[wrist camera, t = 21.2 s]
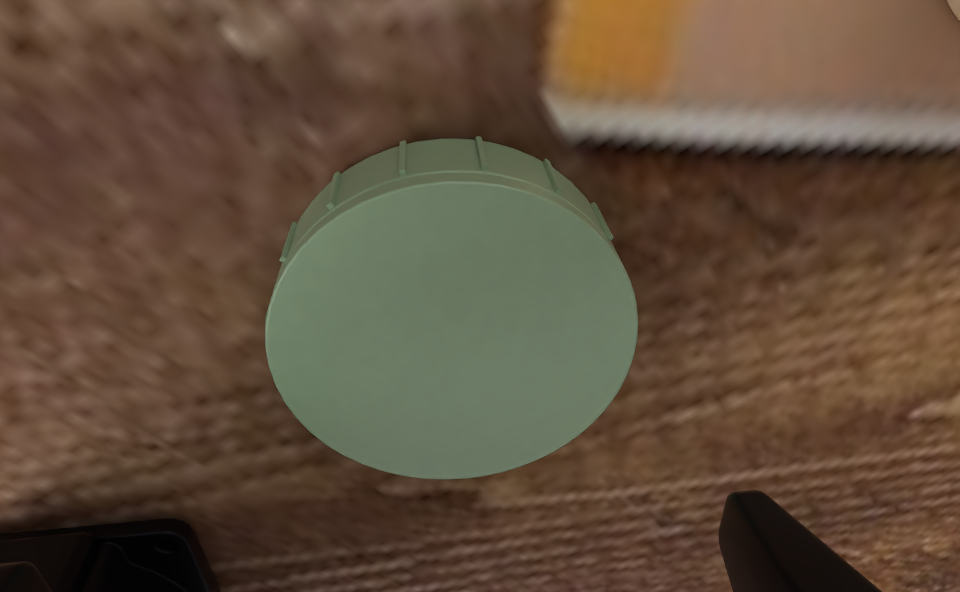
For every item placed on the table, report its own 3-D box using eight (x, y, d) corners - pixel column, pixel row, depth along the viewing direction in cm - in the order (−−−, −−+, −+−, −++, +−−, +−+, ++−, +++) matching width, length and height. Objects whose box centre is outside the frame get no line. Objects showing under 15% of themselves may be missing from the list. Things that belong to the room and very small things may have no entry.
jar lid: (311, 427, 15) (300, 494, 14) (247, 146, 12) (220, 194, 10) (601, 404, 15) (623, 466, 14) (628, 125, 12) (660, 167, 10)
